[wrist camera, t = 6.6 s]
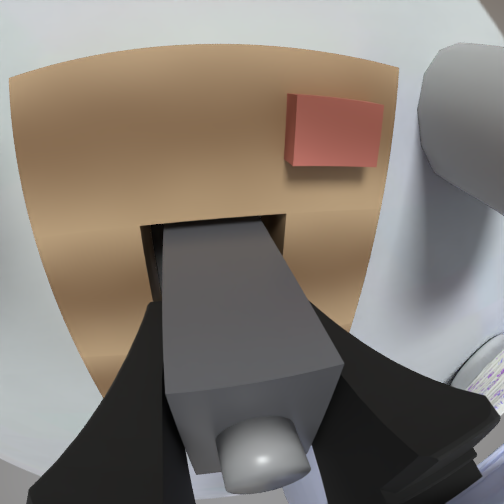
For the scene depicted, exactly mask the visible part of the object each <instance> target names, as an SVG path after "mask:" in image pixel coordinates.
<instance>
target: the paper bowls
mask: <svg viewBox="0 0 504 504" xmlns="http://www.w3.org/2000/svg"><path fill="white" fill-rule="evenodd" d="M451 386H452V387H455V388H459V389H462V390H466V391H470V392H474V393H477V394H481V395H485V396H486V397H487V398H488V400H489V401H490V403H491V404H492V405H493V407H494V408H495V410H496V411H497V412H498V414H499V415H500V416H501V415H502V414H503V413H504V334H501V335H498V336H496V337H494V338H492V339H491V340H489V341H488V342H487V343H486V344H484V345H483V346H482V347H481V348H480V349H479V350H478V351H477V352H476V353H475V354H474V355H473V356H472V357H471V358H470V359H469V360H468V361H467V362H466V363H465V364H464V366H463V367H462V368H461V369H460V371H459V372H458V373H457V375H456V376H455V378H454V379H453V381H452V383H451Z"/></svg>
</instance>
